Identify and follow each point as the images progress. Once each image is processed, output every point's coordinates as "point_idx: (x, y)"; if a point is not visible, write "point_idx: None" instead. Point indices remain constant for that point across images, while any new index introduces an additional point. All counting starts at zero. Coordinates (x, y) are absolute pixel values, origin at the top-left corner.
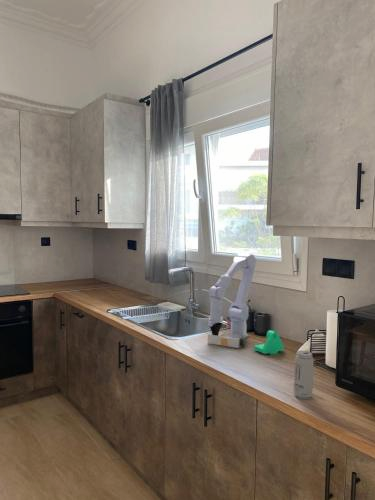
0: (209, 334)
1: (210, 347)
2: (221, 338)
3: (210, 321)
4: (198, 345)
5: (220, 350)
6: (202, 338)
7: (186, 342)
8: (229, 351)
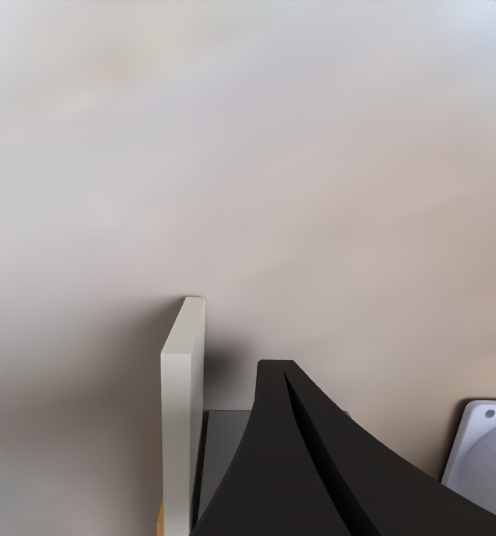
0: (179, 376)
1: (77, 366)
2: (159, 522)
3: None
4: (57, 227)
5: (52, 467)
6: (361, 159)
7: (74, 7)
8: (77, 527)
